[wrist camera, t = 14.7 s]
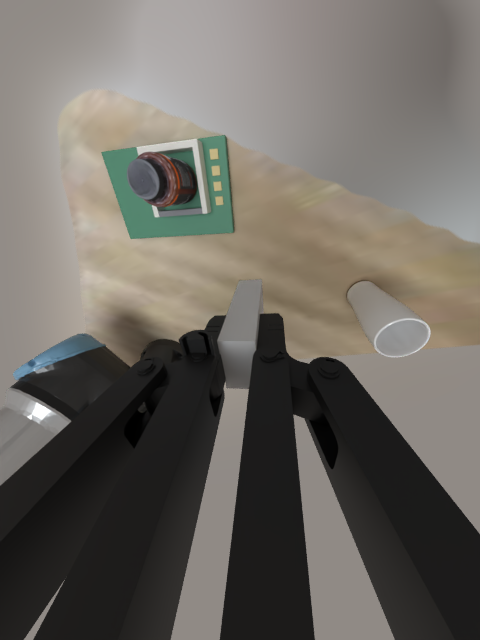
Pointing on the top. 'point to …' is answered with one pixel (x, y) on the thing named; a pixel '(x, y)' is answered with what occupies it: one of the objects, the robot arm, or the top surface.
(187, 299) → the top surface
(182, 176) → the supplement bottle
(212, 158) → the board
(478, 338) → the top surface
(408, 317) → the drinking glass
